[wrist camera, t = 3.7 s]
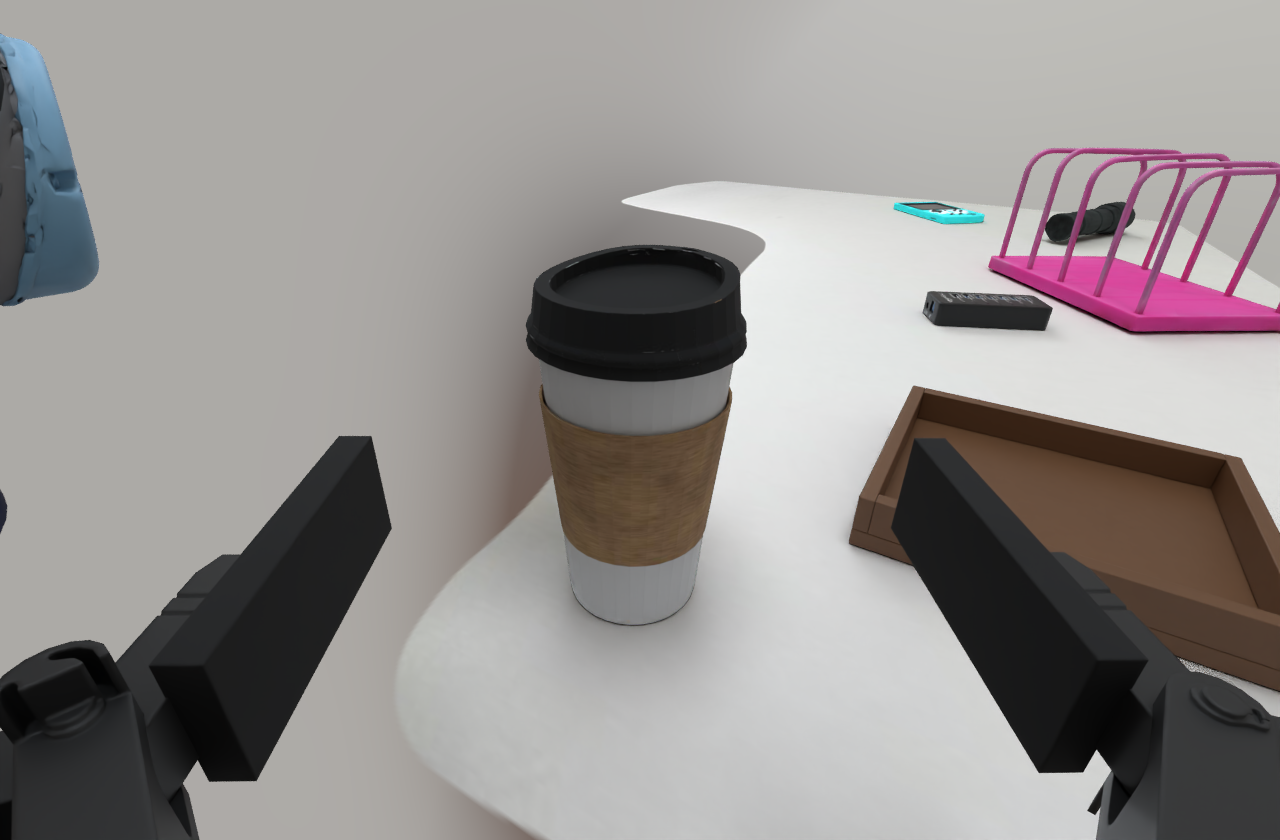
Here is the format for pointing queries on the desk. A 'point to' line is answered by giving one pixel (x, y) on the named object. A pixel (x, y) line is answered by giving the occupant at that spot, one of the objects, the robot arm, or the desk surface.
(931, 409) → the tray
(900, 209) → the handheld game console
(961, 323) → the multiport hub
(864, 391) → the desk surface
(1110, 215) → the flashlight
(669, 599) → the coffee cup
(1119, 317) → the file sorter
